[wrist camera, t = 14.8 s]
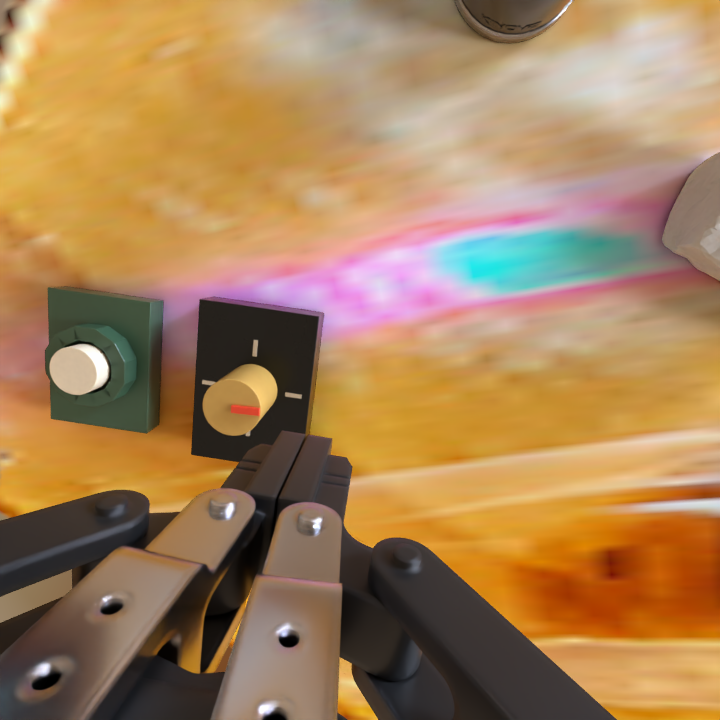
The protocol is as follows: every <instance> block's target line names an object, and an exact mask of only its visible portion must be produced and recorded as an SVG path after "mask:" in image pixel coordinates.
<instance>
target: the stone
mask: <svg viewBox="0 0 720 720" xmlns="http://www.w3.org/2000/svg"><path fill="white" fill-rule="evenodd" d="M662 241H663V243H664V245H665V247H667V248H669V249H670V250H671V251H672V252H674V253H675V254H678V255H680V256H683V257H685V258H687V259H688V260H689V262H690V263H691V264H692V265H693V266H694V267H695V268H696V269H698V270H700V271H702V272H705V273H706V274H708V275H710V276H711V277H713V278H715V279H717V280H719V281H720V152H719V153H717V154H715V155H713V156H712V157H710V158H708V159H707V160H705V161H704V162H703V163H702V164H700V165H699V166H698V167H697V168H696V169H695V170H694V171H693V172H692V173H691V175H690V176H689V177H688V179H687V181H686V183H685V185H684V187H683V189H682V190H681V192H680V194H679V196H678V198H677V200H676V202H675V204H674V206H673V208H672V210H671V212H670V215H669V218H668V221H667V223H666V226H665V229H664V233H663V236H662Z"/></svg>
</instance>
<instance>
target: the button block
mask: <svg viewBox="0 0 720 720" xmlns="http://www.w3.org/2000/svg"><path fill="white" fill-rule="evenodd" d="M48 319H49V345H48V347H47V348H46V350H45V370H46V374H47V376H48V377H49V379H50V400H51V419H56V420H62V421H69V422H75V423H82V424H88V425H95V426H102V427H108V428H115V429H121V430H128V431H134V432H141V433H148V432H149V431H151V430H152V429H154V428H155V427H157V426H158V425H159V409H160V381H161V353H162V325H163V300H156V299H150V298H143V297H136V296H129V295H122V294H115V293H108V292H101V291H95V290H88V289H81V288H74V287H67V286H64V287H49V288H48ZM77 344H90V345H93V346H95V347H97V348H99V349H100V350H101V351H102V352H103V353H104V354H105V355H106V357H107V358H108V361H109V364H110V376H109V379H108V380H107V382H106V383H105V384H104V385H103V386H102V387H100V388H97V389H95V390H93V391H90V392H88V393H86V394H82V395H73V394H69V393H66V392H64V391H63V390H61V389H60V388H59V387H58V386H57V385H56V384H55V383H54V381H53V379H52V377H51V374H50V368H49V367H50V361H51V358H52V356H53V355H54V354H55V353H56V352H57V351H58V350H60V349H62V348H65V347H69V346H73V345H77Z"/></svg>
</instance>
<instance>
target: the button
mask: <svg viewBox="0 0 720 720" xmlns="http://www.w3.org/2000/svg"><path fill="white" fill-rule="evenodd" d="M49 368H50V374H51V377H52V379H53V381H54V383H55V384H56V385H57V386H58V387H59V388H60V389H61V390H63V391H64V392H66V393H69V394H73V395H82V394H86V393H88V392H90V391H93V390H95V389H97V388H100V387H102V386H103V385H104V384H105V383H106V382H107V380H108V379H109V376H110V364H109V361H108V358H107V357H106V355H105V354H104V353H103V352H102V351H101V350H100V349H99V348H97V347H95V346H93V345H90V344H77V345H73V346H69V347H65V348H62V349H60V350H58V351H57V352H56V353H55V354H54V355H53V356H52V358H51V361H50V367H49Z"/></svg>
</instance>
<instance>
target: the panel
mask: <svg viewBox="0 0 720 720" xmlns="http://www.w3.org/2000/svg"><path fill="white" fill-rule="evenodd" d="M323 318H324V313H323V312H316V311H309V310H302V309H296V308H289V307H282V306H275V305H268V304H261V303H254V302H247V301H240V300H234V299H227V298H220V297H210V298H204V299H200V303H199V322H198V340H197V359H196V377H195V395H194V414H193V432H192V450H191V455H197V456H203V457H210V458H216V459H223V460H229V461H236V462H240V461H242V458H243V457H244V455H245V454H246V453H247V451H248V450H250V449H252V448H253V447H255V446H257V445H259V444H267V445H273V444H274V442H275V441H276V439H277V438H278V436H279V434H280V433H281V431H282V430H283V431H289V432H295V433H301V434H306V435H307V436H308V435H310V427H311V418H312V410H313V402H314V393H315V385H316V377H317V368H318V360H319V352H320V343H321V335H322V327H323ZM246 364H254V365H258V366H261V367H263V368H265V369H266V370H267V371H269V372H270V373H271V375H272V376H273V377H274V379H275V381H276V385H277V397H276V400H275V402H274V403H273V405H272V406H271V407H270V408H269V410H268V411H267V412H266V413H265V415H264V416H263V417H262V418H261V420H260V421H259V422H258V423H257V425H256V426H255V427H254V428H253V429H252V430H251V431H249V432H247V433H245V434H243V435H237V436H231V435H226V434H223V433H221V432H219V431H217V430H216V429H214V428H213V427H212V426H211V425H210V424H209V423H208V421H207V419H206V418H205V415H204V412H203V398H204V395H205V393H206V391H207V390H208V389H209V387H210V386H211V385H213V384H214V383H216V382H217V381H219V380H220V379H221V378H223V377H224V376H226V375H227V374H229V373H230V372H232V371H233V370H234V369H236V368H237V367H239V366H242V365H246Z"/></svg>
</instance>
